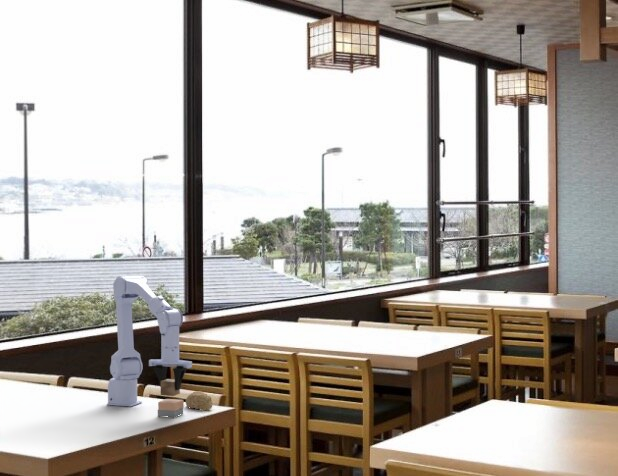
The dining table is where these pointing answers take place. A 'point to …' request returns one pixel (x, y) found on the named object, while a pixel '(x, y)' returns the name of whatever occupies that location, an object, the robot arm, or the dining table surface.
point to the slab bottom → (170, 413)
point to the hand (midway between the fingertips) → (170, 389)
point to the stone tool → (199, 401)
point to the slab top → (170, 404)
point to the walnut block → (169, 387)
